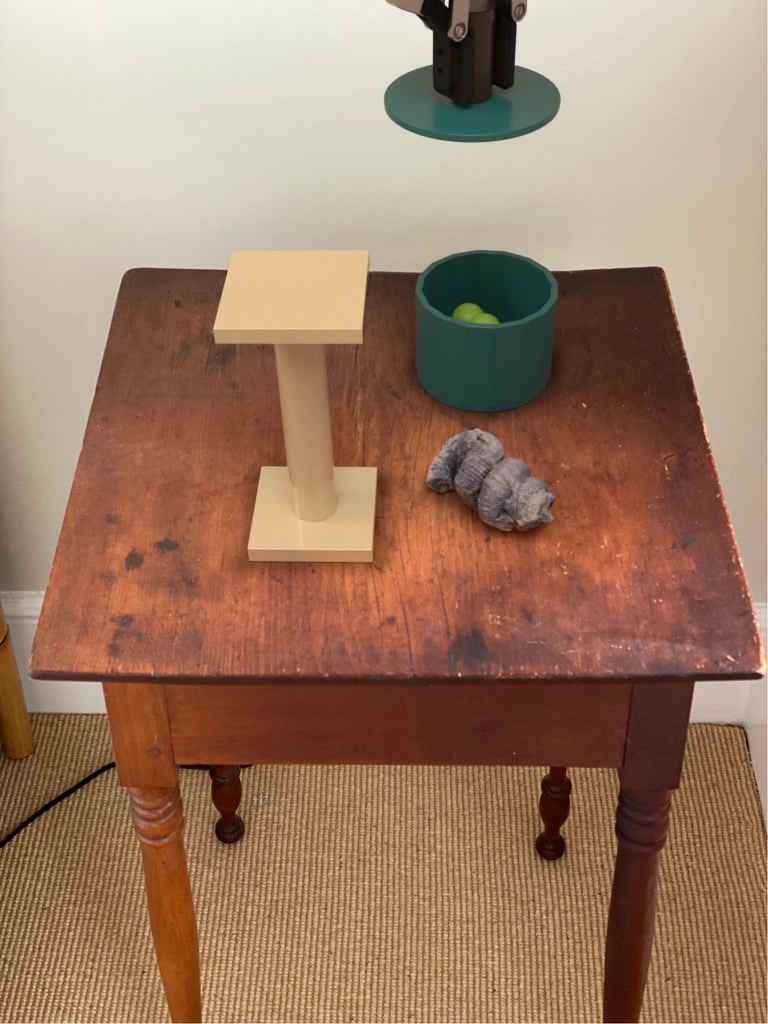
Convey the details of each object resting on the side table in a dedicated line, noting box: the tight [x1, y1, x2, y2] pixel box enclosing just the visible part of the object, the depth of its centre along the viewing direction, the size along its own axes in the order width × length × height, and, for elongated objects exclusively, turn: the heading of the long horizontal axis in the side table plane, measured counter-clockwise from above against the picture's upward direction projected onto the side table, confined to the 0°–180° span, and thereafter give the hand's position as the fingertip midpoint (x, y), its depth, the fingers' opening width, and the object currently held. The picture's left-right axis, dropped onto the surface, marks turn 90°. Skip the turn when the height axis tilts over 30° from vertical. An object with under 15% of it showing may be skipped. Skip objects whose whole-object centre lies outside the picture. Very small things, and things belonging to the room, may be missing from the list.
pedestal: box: [212, 249, 379, 563], centre depth 69 cm, size 8×8×18 cm
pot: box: [414, 249, 559, 413], centre depth 84 cm, size 10×10×8 cm
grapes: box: [452, 303, 500, 324], centre depth 85 cm, size 6×5×4 cm
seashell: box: [424, 427, 556, 532], centre depth 74 cm, size 5×5×10 cm
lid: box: [383, 0, 562, 144], centre depth 70 cm, size 11×11×7 cm
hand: (473, 86), depth 71 cm, fingers closed on lid, 2 cm apart
